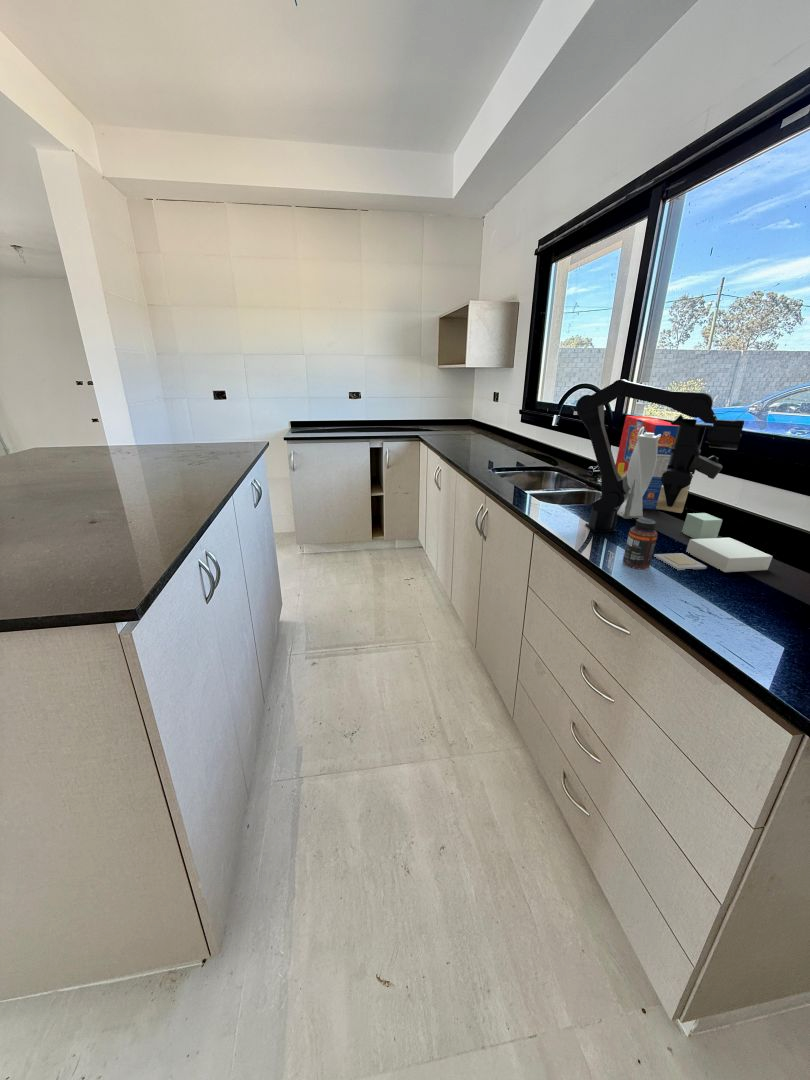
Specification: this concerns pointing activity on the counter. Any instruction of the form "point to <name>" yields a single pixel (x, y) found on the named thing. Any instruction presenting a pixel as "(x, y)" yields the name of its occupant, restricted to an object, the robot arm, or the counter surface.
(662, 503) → the maple cube
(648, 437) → the skyscraper
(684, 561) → the tile
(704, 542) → the cream block
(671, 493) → the robot arm
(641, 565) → the supplement bottle
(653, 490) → the red and blue box
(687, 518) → the sage cube
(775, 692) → the counter surface
